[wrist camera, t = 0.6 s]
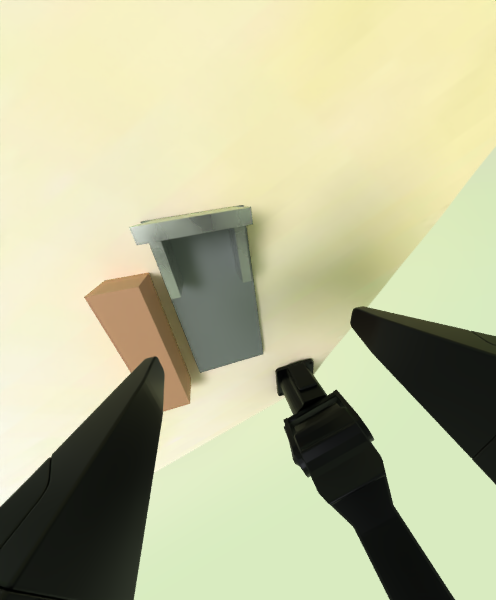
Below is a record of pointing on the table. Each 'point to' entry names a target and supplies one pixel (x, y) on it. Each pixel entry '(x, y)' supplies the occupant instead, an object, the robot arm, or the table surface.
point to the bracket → (194, 224)
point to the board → (215, 300)
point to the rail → (141, 331)
